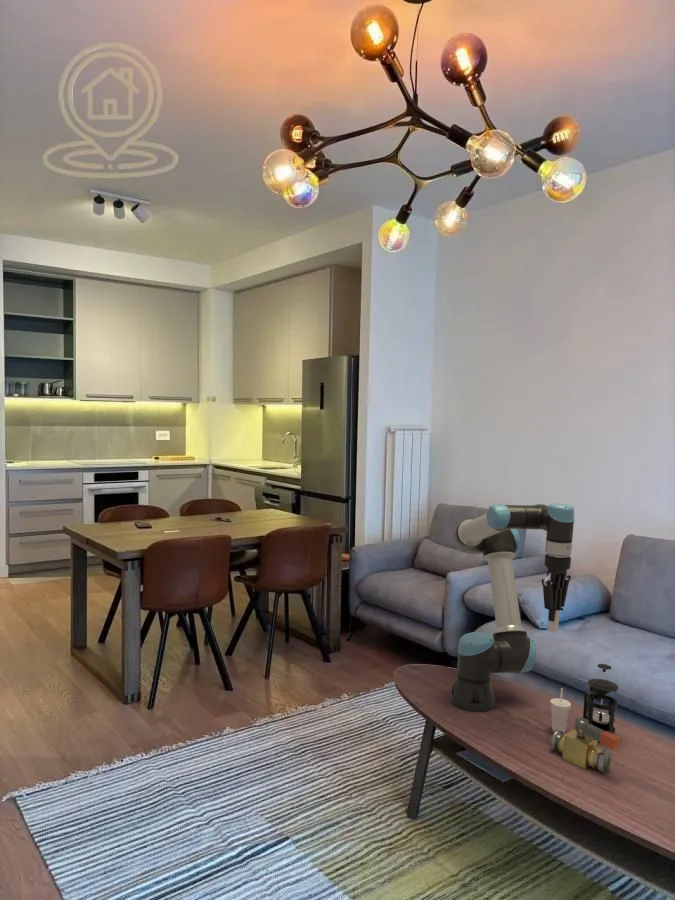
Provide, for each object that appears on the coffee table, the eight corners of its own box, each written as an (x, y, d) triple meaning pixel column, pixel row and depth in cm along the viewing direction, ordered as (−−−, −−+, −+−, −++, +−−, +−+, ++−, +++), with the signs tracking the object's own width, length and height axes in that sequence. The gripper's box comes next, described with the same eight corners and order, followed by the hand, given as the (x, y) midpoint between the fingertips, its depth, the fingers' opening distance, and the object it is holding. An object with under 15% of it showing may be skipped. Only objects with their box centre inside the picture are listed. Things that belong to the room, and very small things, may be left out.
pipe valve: (548, 752, 201) (550, 723, 200) (560, 745, 205) (562, 718, 204) (600, 775, 189) (602, 745, 188) (610, 768, 193) (613, 739, 192)
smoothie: (570, 730, 215) (573, 687, 214) (568, 738, 210) (571, 695, 209) (549, 725, 218) (552, 683, 217) (546, 733, 212) (549, 690, 211)
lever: (572, 729, 197) (573, 719, 196) (580, 727, 199) (580, 716, 198) (612, 750, 186) (613, 739, 185) (620, 747, 187) (621, 736, 187)
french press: (623, 742, 209) (629, 670, 207) (601, 747, 205) (606, 673, 204) (594, 725, 220) (600, 656, 218) (572, 729, 216) (578, 659, 214)
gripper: (557, 559, 197) (552, 638, 199) (580, 554, 206) (575, 630, 208) (535, 554, 203) (530, 631, 205) (558, 550, 212) (553, 623, 213)
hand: (552, 630), depth 206 cm, fingers closed
